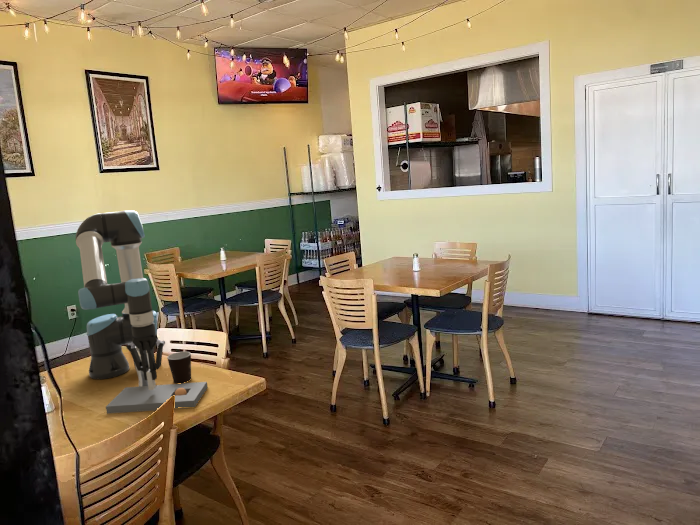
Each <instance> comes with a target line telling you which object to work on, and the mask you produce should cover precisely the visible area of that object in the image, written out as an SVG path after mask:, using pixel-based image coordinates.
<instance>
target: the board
mask: <svg viewBox="0 0 700 525" xmlns="http://www.w3.org/2000/svg"><path fill="white" fill-rule="evenodd" d="M178 388H184V389H185V390H186V392H187V395H177V396H175V408H178V407H195V406H197V405H198V404H197V403H199V402H200V401H199V400H201V399H202V398H203V396H204V395H205V393H206V392H205V391H207V390H208V389H209V387H208V382H207V381H201V382H199V381H197V382H186V383H181V384H176V383H172V384H157V385H156V387H155V388H154V389H153V390H149V387H148V386H139V385H138V386H127V387H124V388H123V389H122V390H121V391H120V392H119V393H118V394H117V395H116V396H115V397H113V399H112V400H111V401H110V402H109V403H108V404H107V405H106V406H105V410H106V414H117V413H118V414H119V413H135V412H149V411H157V410H156V409H157V408H159V407H160V406H161V405H162V404H163V403H164V402H166V400H167V399H169V398H170V397H171V396H173V395H175V391H176V390H177V389H178ZM207 388H208V389H207ZM206 389H207V390H206ZM204 392H205V393H204ZM203 394H204V395H203ZM202 395H203V396H202ZM201 397H202V398H201ZM200 398H201V399H200ZM198 401H199V402H198ZM196 404H197V405H196ZM195 408H196V407H195Z"/></svg>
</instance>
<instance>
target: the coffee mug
mask: <svg viewBox="0 0 700 525" xmlns="http://www.w3.org/2000/svg"><path fill="white" fill-rule="evenodd" d="M166 359H167V363H168V366H169V369H170V373H171V376H172V379H173V380H172V381H173V384H176V383H181V384H182V383H184V382H186V383H188V382H190V381H191V380H192V353H191V352H190V351H177V352H174V353H171V354H169V355H168V356H167V358H166ZM190 379H191V380H190ZM189 380H190V381H189ZM187 381H188V382H187Z"/></svg>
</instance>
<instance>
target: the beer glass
mask: <svg viewBox="0 0 700 525" xmlns="http://www.w3.org/2000/svg"><path fill="white" fill-rule="evenodd" d="M135 348H136V350H137V352H138V354H139V357H140V359H141V355H140V353H139V349H138V348H137V347H136V346H135ZM146 352H147V351H146ZM147 359H148V353H147ZM132 362H133V364H134V368H135V371H136V374H137V377H138V387H139V386H148V381H147V380H145V377H144V372H143V371H138V370H137V367H136V365H135V363H134V360H133V359H132ZM148 366H149V367H150V365H149V359H148ZM148 370H150V368H149V369H148ZM155 384H157V382H156V381H155Z"/></svg>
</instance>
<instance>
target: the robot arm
mask: <svg viewBox="0 0 700 525" xmlns="http://www.w3.org/2000/svg"><path fill="white" fill-rule="evenodd" d="M140 217H141V216H140V215H139V213H138V211H135V210H121V211H120V210H119V211H111V212H103V213H102V212H101V213H100V212H99V213H94V214H92V215H90V216H88V217H86V219H83V221H82V222H81V223H80V225H79V227H78V228H77V230H76V233H75V244H76V247H78V248H79V254H80V262H81V270H82V279H83V287H82V288H79V289H78V290H77V292H78V300H79V306H80V308H81V309H82V310H96V309H100V308H105V307H111V306H118V305H123V304H124V308H123V310H122V311H121V315H122V316H118V315H117V314H116V313H110V314H109V313H107V314H103V315H101V316H97V317H95V318H92V319H91V320H89V321H88V322H87V323H86V336H87V339H88V346H89V351H90V356H91V357H90V363H89V370H88V375H89V376H88V377H89V378H90V379H93V380H105V379H111V378H115V377H118V376H121V375H123V374H125V373H127V372H128V371H129V370H130V362H129V360H128V359H127V357H126V355H125V354H124V352H123V349H122V348H123V347H122V346H124V345H126V349H127V350H128V351H129V353H130V355H131V358H132V361H133V360H134V362H133V364H134V363H135V365H136V367H137V370H138V371H143V372H144V377H145V380H147V381H148V387H149V390H153V389H154V388H155V387H156V384H157V383H156V384H155V382H156V380H157V377H158V374H157V370H159V369H160V368H161V367H162V359H163V349H164V347H165V344H166V341H165V340H160V339H159V337H158V336H157V334H158V318H157V317H158V316H157V312H156V311H155V310H153V306H152V297H151V289H150V288H151V287H150V285H149V281H148V279H147V278H145V277H144V274H143V268H142V262H141V253H140V246H141V244H142V243H143V240H142V239H144V238H145V237H146V236H145V230H144V227H143V223H142V220H141V218H140ZM104 243H110V245H111V248H113V249H114V250H115V251H116V258H117V265H118V270H119V277H120V281H121V282H117V283H108V279H107V273H106V266H105V261H104V255H103V254H104V253H103V247H102V246H103V245H104ZM155 345H156V347H157V348H156V354H155ZM135 347H137V348H138V349H139V353H140V355H141V359H140V357H139V354H138V352H137V350H136V348H135ZM146 351H147V352H146ZM147 353H148V359H149V365H150V367H149V366H148V359H147ZM155 355H156V356H155ZM149 368H150V370H148V369H149Z"/></svg>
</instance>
